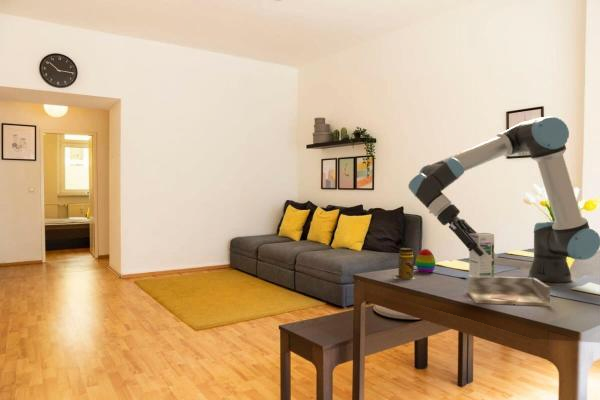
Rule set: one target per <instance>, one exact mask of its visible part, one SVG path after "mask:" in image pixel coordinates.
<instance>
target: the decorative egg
mask: <svg viewBox="0 0 600 400" xmlns="http://www.w3.org/2000/svg"><path fill="white" fill-rule="evenodd" d="M415 267H416V269H417V270H418V271H417V272H420V273H424V274H425V273H426V274H427V273H428V274H429V273H430V274H431V273H433V271H434V270H435V267H436V259H435V255H434V254H433V252H432V251H431V249H428V248H424V249H422V250H420V251H419V253H418V254H417V256H416V260H415Z"/></svg>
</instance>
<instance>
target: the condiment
mask: <svg viewBox="0 0 600 400" xmlns="http://www.w3.org/2000/svg"><path fill="white" fill-rule="evenodd" d="M413 254H414V249H413V248H411V247H401V248H399V254H398V267H397V268H398V274H392V277H393V279H394V280H416V278H415V277H414V261H415V259H414V258H415V257H414V255H413Z"/></svg>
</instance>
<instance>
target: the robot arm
mask: <svg viewBox="0 0 600 400" xmlns="http://www.w3.org/2000/svg"><path fill="white" fill-rule="evenodd" d="M569 137H570V131H569V128H568V125H567V124H566V122H565V121H563V120H562V119H560V118H558V117H556V116H543V117H542V116H541V117H538V118H534V119H531V120H526V121H522V122H520V123H518V124H516V125H514V126H512V127H510V128H509V129H507V130H504V131H502V132H499V133H498V134H497V135H496V136H495V137H494V138H492V139H489V140H488V141H485V142H481V143H480V144H478V145H475V146H473V147H470V148H468V149H465V150H463V151H461V152H458V153H456V154H454V155H451V156H449V157H446V158H444V159H441V160H439V161H436V162H435V163H432V164H427V165H424V166H423V167H421V169H420V170H419V172H418V174H417V175H415V176H414V177H413V178H411V180H410V181H409V183H408V189H409V191H410V192H411V193H412V194H413V195H414V197H416V198H417V199H418V200H419V202H420V203H422V204H423V205H424V206H425V208H426V209H427V210H428V212H429V214H432V215H433V216H434V217H436V219H437V221H438V222H440V223H441V225H442V226H446V225H448V224H449V226H448V228H449V229H450V230H451V232H453V233H454V234H455V236H456V237H457V238H458V239H459V240H460V241H461V242H462V243H463V245H465V247H466V248H467V249H468V252H469V251H471V250H472V251H473V252H474V253H475V254H476V255H477V256H478V257H479V258H480V259H481V260H482V261H483V262H484V263H485V264H486V265H488V264H489V263H490V262H492V261H493V259H492V258H491V257H490V256H489V255H488V254H487V253H486V251H485V250H484V249H483V248H482V247H481V246H480V245H478V246H477V243H476V242H475V241H474V240H473V238H472V237H471V236H470V235H469V234H470V233H478V232H477V231H476V230H475V229H473V228H472V227H471V225H470V224H469V223H467V221H466V220H465V219H462V218H460V217H458V215H459V214H460V212H461V211H460V209H459V208H458V207H457V206H456V205H455V204H453V203H452V201H451V200H450V199H449V198H448V197H447V196H446V195H445V194H444V192H442V191H444V190H445V189H446V188H448V187H449V186H450V185H451V184H453V183H454V182H455V181H457V180H459V179H460V177H462V176H463V175H464V173H465V172H467V171H469V170H472V169H474V168H476V167H479V166H481V165H483V164H486V163H489V162H491V161H493V160H496V159H498V158H501V157H503V156H504V157H510V156H511V155H514V154H515V155H516V154H519V153H525V152H529V155H530V158H531V160H533V161H536V162H537V165H538V169H539V173H540V176H541V179H542V183H543V186H544V189H545V192H546V195H547V199H548V202H549V206H550V209H551V213H552V216H553V220H554V221H540V222H536V223H535V224H534V229H533V260H532V262H531V265H530V268H529V269H528V278H536V279H538V280H539V281H541V282H542V281H543V282H550V283H568V282H572V272H571V270H570V267H569V264H568V259H567V258H571V259H573V260H581V261H584V260H589V259H591V258H593V257H594V256H596V254H597V253H598V250H599V249H600V235H599V232H598V231H596V230H594V229H592V228H590V225H589V221H588V219H587V218H586V217H583V216H582V214H581V212H580V207H579V204H578V201H577V197H576V195H575V192H574V187H573V185H572V184H573V183H572V181H571V178H570V174H569V171H568V168H567V164H566V161H565V160H566V159H565V157H564V154H565V153H566V150H567V146H566V144H567V142H568V139H569ZM498 257H499V255H497V253H496V252H495V251H494V261H495V260H496V259H497V258H498Z"/></svg>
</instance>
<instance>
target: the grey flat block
mask: <svg viewBox="0 0 600 400" xmlns="http://www.w3.org/2000/svg"><path fill="white" fill-rule="evenodd" d="M467 294H468V295H469V296H470V297H471V298H472V300H473V301H474V302H475V304H493V305H495V304H497V305H513V304H515V305H514V306H516V305H517V306H539V307H550V306H551V286H549V285H548V284H546V283H544V281H543V282H542V281H540V280H538V279H536V278H530V277H522V276H519V277H517V276H516V277H515V276H494V277H487V278H477V277H474V276H472V275H467Z"/></svg>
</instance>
